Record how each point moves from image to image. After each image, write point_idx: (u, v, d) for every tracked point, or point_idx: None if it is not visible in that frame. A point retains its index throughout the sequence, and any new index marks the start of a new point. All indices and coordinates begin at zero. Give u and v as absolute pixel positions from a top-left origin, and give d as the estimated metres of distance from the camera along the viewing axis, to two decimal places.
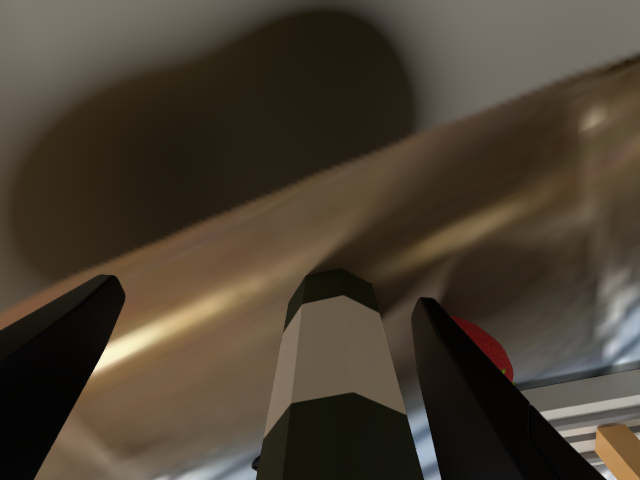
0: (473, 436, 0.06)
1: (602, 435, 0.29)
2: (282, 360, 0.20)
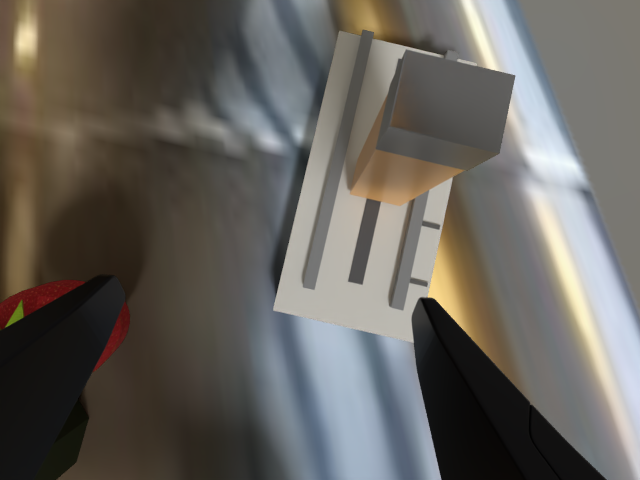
0: (473, 436, 0.06)
1: (350, 192, 0.20)
2: None
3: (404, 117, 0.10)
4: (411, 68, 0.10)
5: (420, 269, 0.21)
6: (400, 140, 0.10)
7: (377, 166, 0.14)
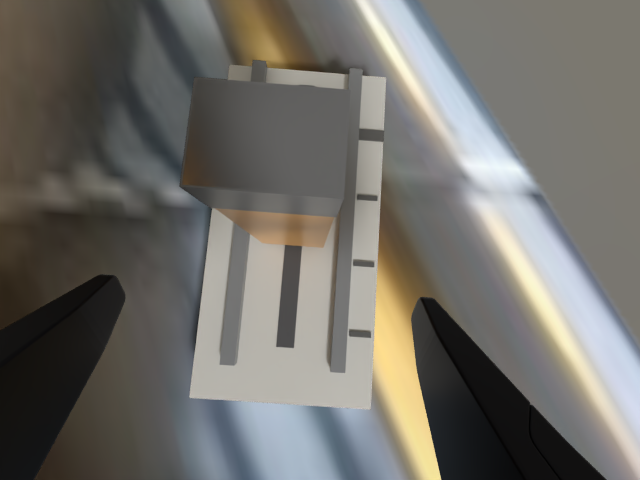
0: (473, 436, 0.06)
1: (261, 241, 0.17)
2: None
3: (201, 169, 0.07)
4: (204, 101, 0.07)
5: (360, 318, 0.17)
6: (217, 197, 0.07)
7: (244, 221, 0.11)
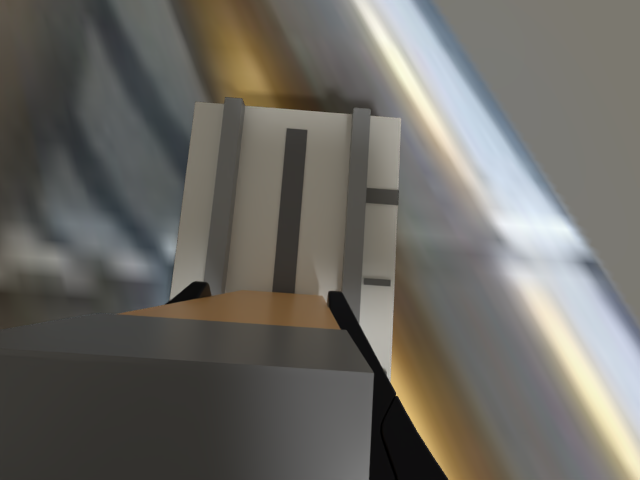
0: None
1: None
2: None
3: None
4: None
5: None
6: None
7: None
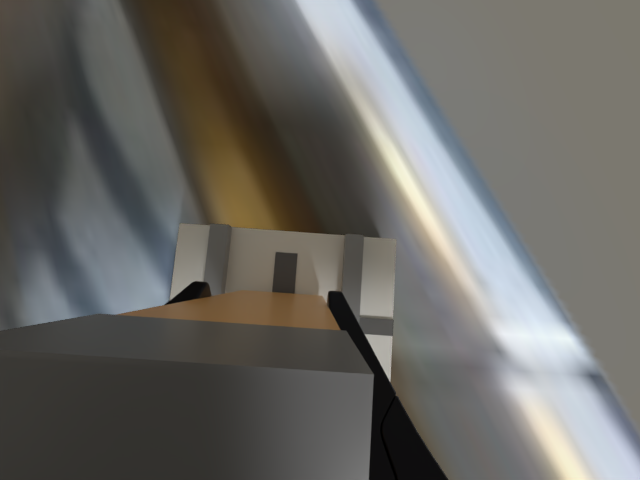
0: None
1: None
2: None
3: None
4: None
5: None
6: None
7: None
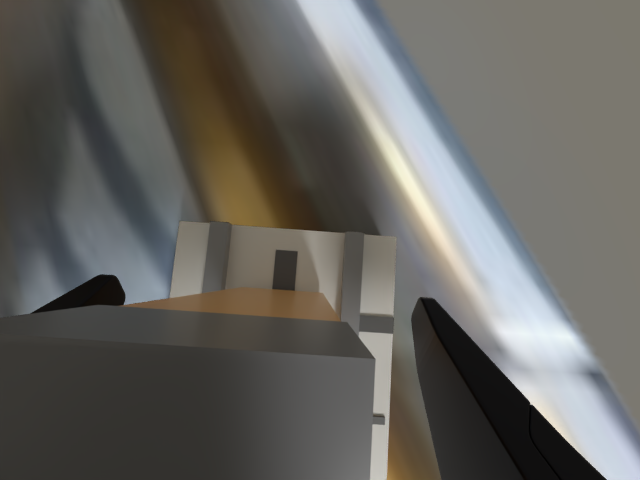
0: (473, 436, 0.06)
1: None
2: None
3: None
4: None
5: None
6: None
7: None
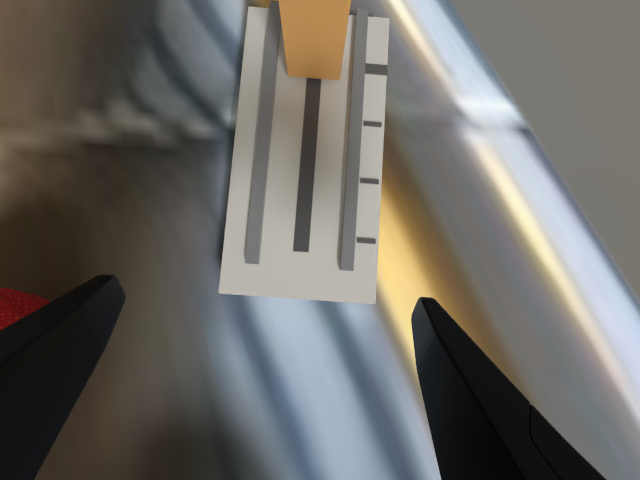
0: (473, 436, 0.06)
1: (287, 70, 0.20)
2: None
3: None
4: None
5: (366, 227, 0.20)
6: None
7: None
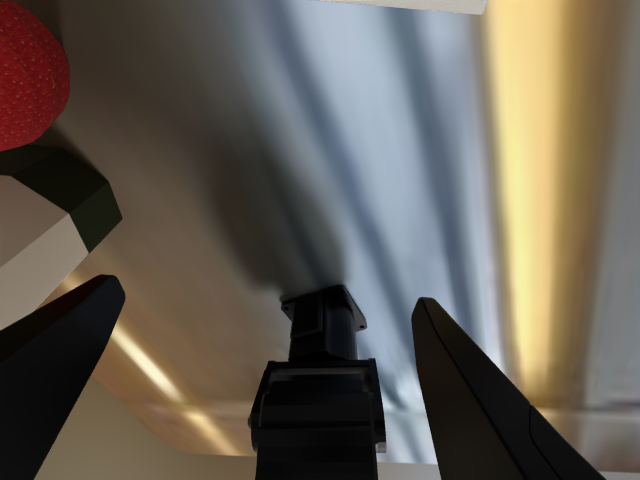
0: (473, 436, 0.06)
1: None
2: None
3: None
4: None
5: None
6: None
7: None
